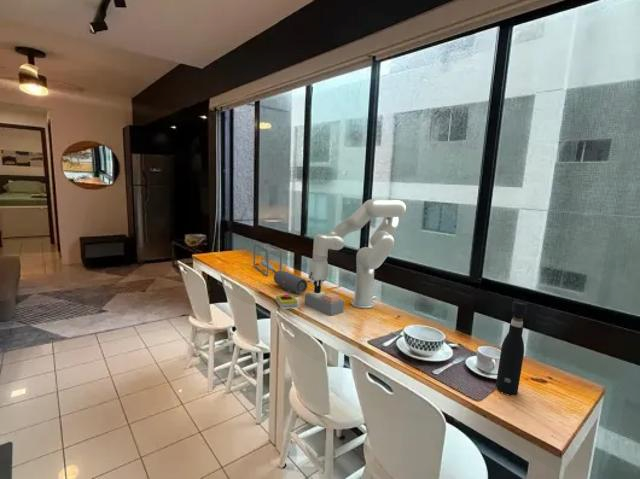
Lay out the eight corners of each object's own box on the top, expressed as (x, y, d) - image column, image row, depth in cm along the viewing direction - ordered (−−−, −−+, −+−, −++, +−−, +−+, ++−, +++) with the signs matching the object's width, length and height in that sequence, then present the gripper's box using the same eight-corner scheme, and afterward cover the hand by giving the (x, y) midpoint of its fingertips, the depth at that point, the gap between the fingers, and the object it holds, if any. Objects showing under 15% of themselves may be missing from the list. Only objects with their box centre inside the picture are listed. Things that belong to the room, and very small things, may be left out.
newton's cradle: (253, 266, 257) (253, 243, 255) (266, 265, 262) (267, 242, 260) (266, 276, 231) (267, 250, 229) (281, 275, 236) (282, 250, 234)
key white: (317, 299, 186) (317, 290, 185) (325, 302, 181) (325, 293, 181) (309, 301, 182) (309, 291, 181) (316, 304, 177) (317, 294, 177)
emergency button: (291, 291, 190) (299, 300, 176) (291, 299, 191) (299, 308, 177) (275, 292, 187) (282, 301, 173) (274, 300, 187) (281, 309, 174)
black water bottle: (510, 384, 117) (523, 299, 112) (521, 396, 110) (536, 306, 106) (491, 384, 117) (504, 298, 112) (502, 395, 110) (516, 305, 106)
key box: (317, 301, 188) (317, 290, 187) (343, 312, 175) (344, 300, 174) (304, 304, 182) (305, 293, 181) (330, 316, 168) (331, 304, 167)
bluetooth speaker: (272, 286, 211) (273, 270, 209) (284, 284, 217) (285, 268, 216) (294, 296, 194) (295, 279, 193) (307, 294, 200) (308, 277, 199)
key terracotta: (330, 301, 178) (331, 292, 178) (339, 305, 174) (339, 295, 173) (322, 304, 174) (323, 294, 174) (330, 307, 170) (331, 297, 169)
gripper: (324, 255, 186) (322, 288, 189) (304, 258, 175) (301, 292, 178) (335, 258, 180) (332, 292, 183) (314, 261, 170) (311, 296, 173)
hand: (317, 292), depth 181 cm, fingers closed
